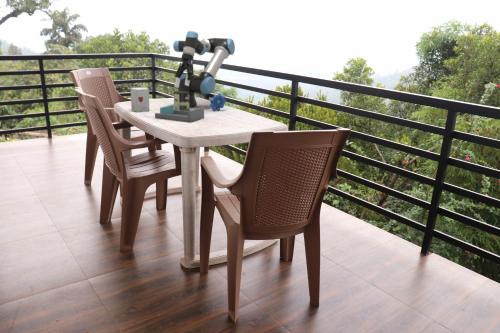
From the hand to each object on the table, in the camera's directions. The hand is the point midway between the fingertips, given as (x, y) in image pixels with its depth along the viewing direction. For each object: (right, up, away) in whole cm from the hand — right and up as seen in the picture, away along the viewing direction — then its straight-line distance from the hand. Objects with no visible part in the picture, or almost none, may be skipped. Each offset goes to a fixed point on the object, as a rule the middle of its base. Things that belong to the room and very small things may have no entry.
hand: (181, 86), depth 265 cm
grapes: (+22, -13, +21) cm, 33 cm away
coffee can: (-1, -16, +8) cm, 18 cm away
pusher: (-8, -20, -7) cm, 22 cm away
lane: (+1, -22, -9) cm, 24 cm away
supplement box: (-29, -14, +10) cm, 34 cm away
